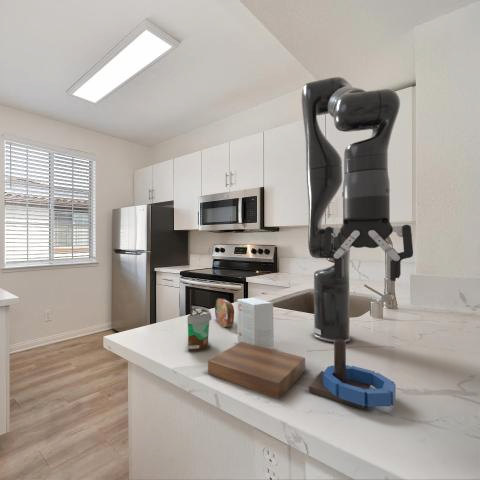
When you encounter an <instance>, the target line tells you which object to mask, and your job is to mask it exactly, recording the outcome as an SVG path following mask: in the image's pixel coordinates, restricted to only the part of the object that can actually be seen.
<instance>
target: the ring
mask: <svg viewBox="0 0 480 480" xmlns="http://www.w3.org/2000/svg"><path fill="white" fill-rule="evenodd" d="M323 371H324V372H323V386H324V387H325V388H326V389H328V390H329V391H330V392H331V393H332V394H333V395H335V396H339V398H340V399H343V400H346V401H349V402H353V403H356V404H359V405H362V406H364V407H365V406H366V407H368V408H376V407H377V408H380V407H383V408H384V407H391V406H394V403H395V400H396V397H397V396H396V395H397V394H396V393H397V392H396V391H397V389H396V388H397V387H396V383H395V382H394V381H393V380H391V379H390V378H388V377H387V376H385V375H383V374H382V373H380V372H376V371H375V370H371V369H367V368H363V367H359V366H355V365H351V366H350V365H347V364H346V380H354V381H358V382H361V383H365V384H369V385H371V387H373V388H371V389H363V388H359V387H356V386H352V385H349V384H345V383H342V382H341V381H340V380H338V379H337V378H336V377H334V365H328V366H327V367H326V368H325V369H324V370H323Z"/></svg>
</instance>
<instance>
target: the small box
mask: <svg viewBox="0 0 480 480" xmlns="http://www.w3.org/2000/svg"><path fill="white" fill-rule="evenodd" d="M236 304H237V305H236V306H237V307H236V308H237V309H236V310H237V311H236V312H237V314H236V315H237V317H236V318H237V323H236V324H237V325H236V327H237V329H236V330H237V344H238V343H240V342H245V343H249V344H253V345H257V346H261V347H265V348H269V349H273V350H275V344H274V337H275V336H274V334H275V333H274V302H271V301H268V300H263V299H261V298H257V297H249V298H248V297H247V298H237V299H236Z"/></svg>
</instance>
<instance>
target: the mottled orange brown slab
mask: <svg viewBox="0 0 480 480" xmlns="http://www.w3.org/2000/svg"><path fill="white" fill-rule="evenodd" d="M214 315H215V319H216V321H217V322H218V323H219V324H220V326H221V327H223V328H232V327H233V326H234V324H235V321H234V320H235V308H234V305H233V303H232V302H230V301H229V300H227V299H226V298H219V297H218V298H216V300H215V305H214Z"/></svg>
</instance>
